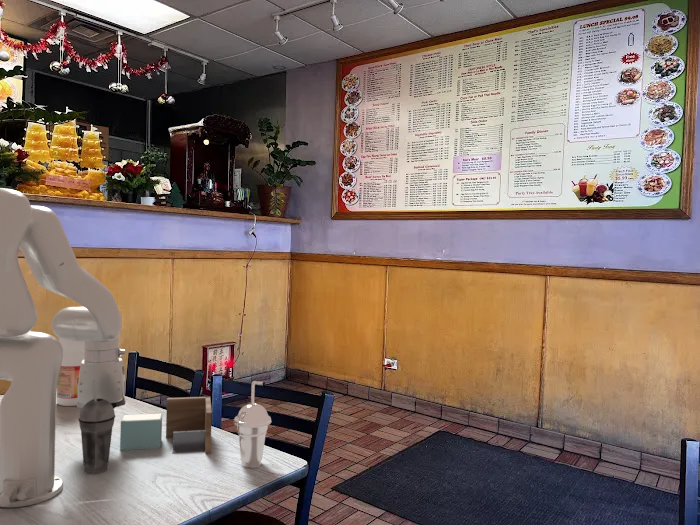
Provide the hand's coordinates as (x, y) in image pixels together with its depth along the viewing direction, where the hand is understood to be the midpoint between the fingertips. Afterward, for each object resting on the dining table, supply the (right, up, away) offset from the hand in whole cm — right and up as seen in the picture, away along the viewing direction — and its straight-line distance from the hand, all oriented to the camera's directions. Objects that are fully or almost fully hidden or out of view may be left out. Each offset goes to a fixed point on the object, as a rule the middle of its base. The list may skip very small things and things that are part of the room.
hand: (101, 430), depth 132 cm
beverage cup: (+5, -5, -13) cm, 15 cm away
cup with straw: (+37, -6, -7) cm, 38 cm away
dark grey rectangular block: (+21, -5, 0) cm, 22 cm away
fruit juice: (-25, -3, +36) cm, 43 cm away
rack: (+20, -5, +3) cm, 21 cm away
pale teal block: (+9, -5, +2) cm, 10 cm away
